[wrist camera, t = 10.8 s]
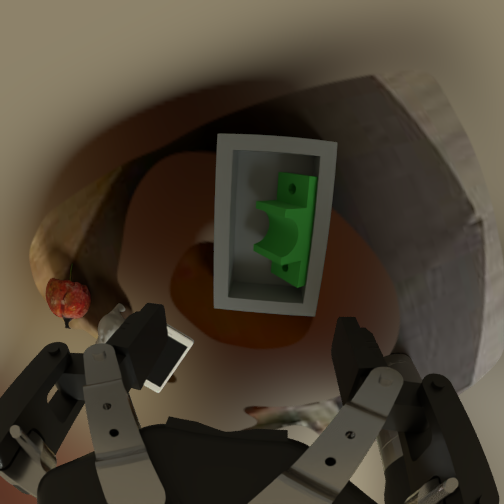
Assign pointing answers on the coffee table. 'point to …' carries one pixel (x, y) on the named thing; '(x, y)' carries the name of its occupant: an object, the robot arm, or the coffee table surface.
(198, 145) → the coffee table surface
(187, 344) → the cell phone
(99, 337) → the dog figurine
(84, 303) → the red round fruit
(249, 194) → the bin
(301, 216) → the pipe clamp
